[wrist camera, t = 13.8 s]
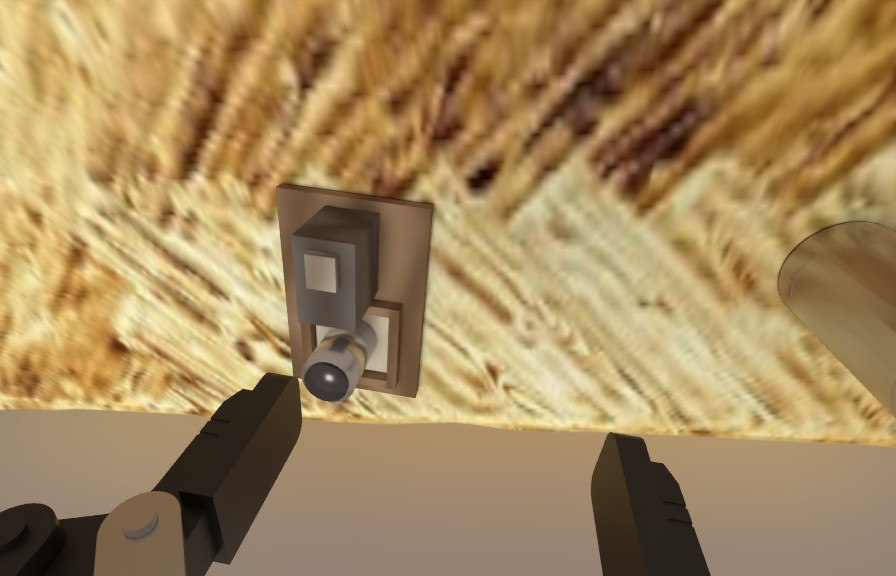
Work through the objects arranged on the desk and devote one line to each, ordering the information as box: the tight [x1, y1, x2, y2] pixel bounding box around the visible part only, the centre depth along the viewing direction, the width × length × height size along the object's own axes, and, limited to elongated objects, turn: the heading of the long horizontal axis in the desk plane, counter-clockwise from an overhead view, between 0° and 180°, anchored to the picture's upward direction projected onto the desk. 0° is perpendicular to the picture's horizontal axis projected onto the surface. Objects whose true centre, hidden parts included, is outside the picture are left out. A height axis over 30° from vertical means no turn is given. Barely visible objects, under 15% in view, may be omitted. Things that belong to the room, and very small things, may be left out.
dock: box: [276, 184, 433, 398], centre depth 43 cm, size 14×22×9 cm, turn 175°
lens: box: [301, 320, 377, 402], centre depth 44 cm, size 5×5×8 cm
